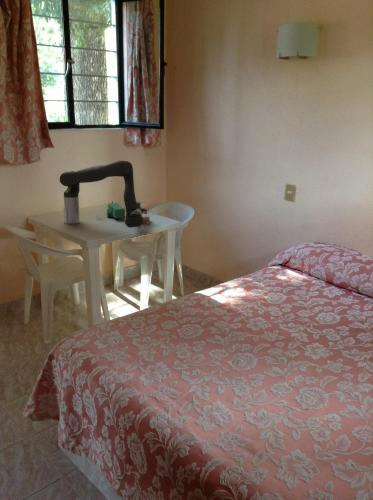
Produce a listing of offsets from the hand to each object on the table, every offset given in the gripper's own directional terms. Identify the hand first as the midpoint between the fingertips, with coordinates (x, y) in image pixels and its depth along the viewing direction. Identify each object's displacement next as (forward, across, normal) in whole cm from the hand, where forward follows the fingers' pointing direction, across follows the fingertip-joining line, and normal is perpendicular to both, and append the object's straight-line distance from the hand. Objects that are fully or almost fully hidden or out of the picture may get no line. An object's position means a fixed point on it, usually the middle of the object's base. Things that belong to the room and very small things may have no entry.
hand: (137, 208), depth 289 cm
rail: (-3, 0, +9) cm, 9 cm away
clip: (-3, 0, +7) cm, 8 cm away
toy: (+15, +17, +9) cm, 24 cm away
